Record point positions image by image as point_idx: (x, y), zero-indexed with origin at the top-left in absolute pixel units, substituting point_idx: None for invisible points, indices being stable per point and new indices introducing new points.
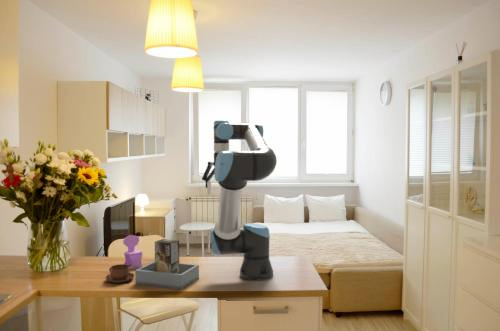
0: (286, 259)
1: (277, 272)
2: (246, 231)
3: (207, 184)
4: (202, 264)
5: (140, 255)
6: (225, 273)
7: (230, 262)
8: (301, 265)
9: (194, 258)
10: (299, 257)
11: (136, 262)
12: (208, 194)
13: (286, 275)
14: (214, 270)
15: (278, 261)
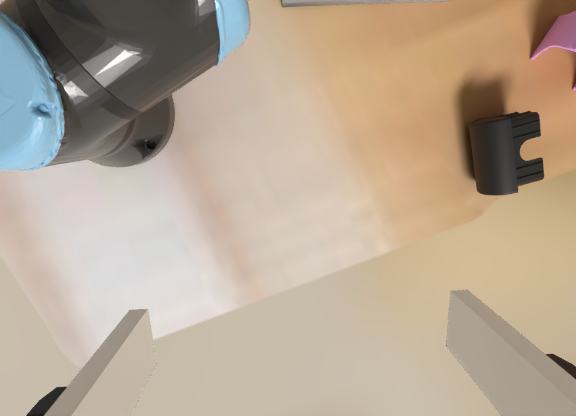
0: (114, 319)
1: (73, 170)
2: (6, 8)
3: (570, 380)
4: (345, 166)
5: (571, 39)
6: (225, 95)
7: (267, 222)
8: (39, 272)
9: (403, 223)
10: (86, 355)
11: (560, 28)
12: (454, 293)
13: None
14: (275, 114)
15: (127, 289)
